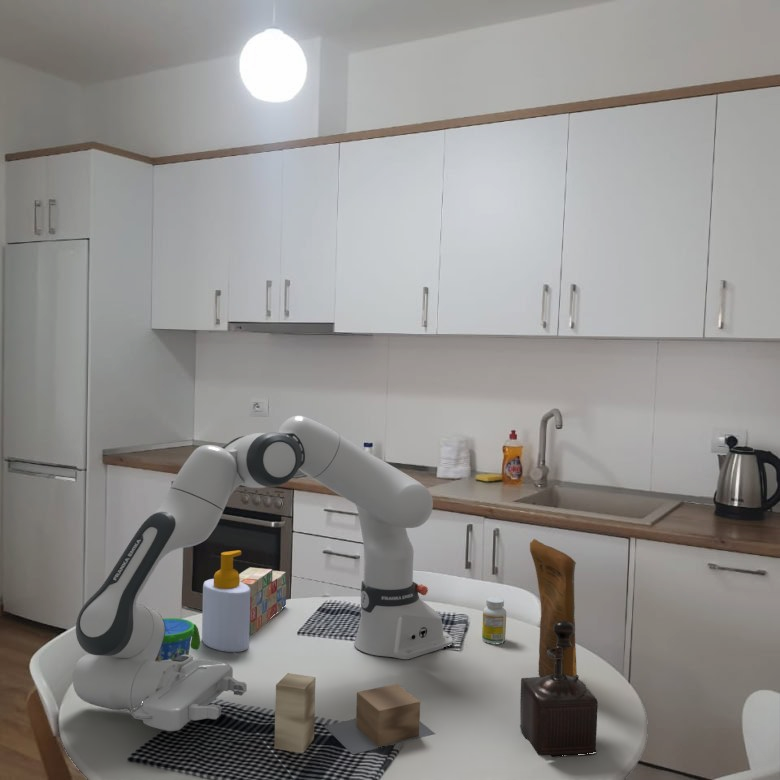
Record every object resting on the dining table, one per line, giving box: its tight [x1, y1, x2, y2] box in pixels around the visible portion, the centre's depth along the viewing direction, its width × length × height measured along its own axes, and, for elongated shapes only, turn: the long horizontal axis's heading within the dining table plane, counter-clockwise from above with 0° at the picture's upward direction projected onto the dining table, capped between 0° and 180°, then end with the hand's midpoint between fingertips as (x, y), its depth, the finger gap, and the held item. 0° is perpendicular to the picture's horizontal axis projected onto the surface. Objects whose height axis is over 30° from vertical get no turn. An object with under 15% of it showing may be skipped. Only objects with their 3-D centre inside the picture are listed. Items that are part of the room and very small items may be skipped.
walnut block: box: [355, 683, 421, 746], centre depth 137 cm, size 8×8×6 cm
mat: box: [323, 718, 436, 756], centre depth 137 cm, size 16×11×1 cm
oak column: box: [273, 672, 317, 754], centre depth 131 cm, size 5×5×11 cm
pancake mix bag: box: [529, 538, 578, 677], centre depth 160 cm, size 7×19×28 cm, turn 8°
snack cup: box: [156, 617, 201, 662], centre depth 158 cm, size 16×10×10 cm
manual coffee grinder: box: [519, 621, 599, 758], centre depth 138 cm, size 16×11×18 cm
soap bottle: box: [201, 549, 250, 653], centre depth 176 cm, size 13×8×20 cm, turn 49°
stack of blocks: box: [239, 566, 287, 636], centre depth 193 cm, size 21×6×12 cm, turn 165°
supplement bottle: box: [481, 596, 507, 645], centre depth 183 cm, size 5×5×10 cm
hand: (232, 700), depth 135 cm, fingers open, 8 cm apart
